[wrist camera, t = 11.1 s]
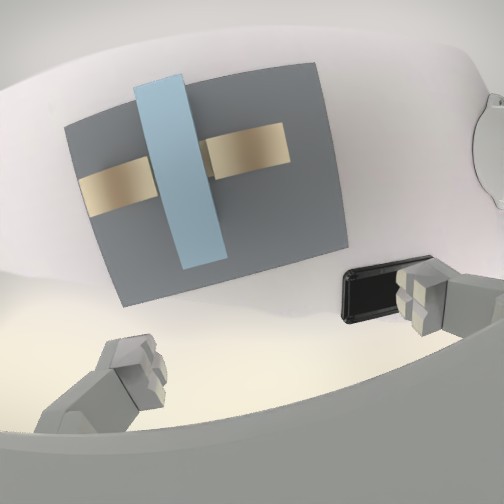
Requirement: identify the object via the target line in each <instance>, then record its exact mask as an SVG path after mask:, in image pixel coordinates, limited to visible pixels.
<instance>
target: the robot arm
mask: <svg viewBox="0 0 504 504" xmlns="http://www.w3.org/2000/svg"><path fill="white" fill-rule="evenodd" d="M473 155H474V164H475V169H476V173H477V176H478V179H479V181H480V183H481V185H482V187H483V188H484V189H485V191H486V192H487V193H489V194H490V195H491V196H492V197H493V198H494V201H495V203H496V206H497V207H498V209H501V210H504V97H502V96H500V95H497V94H490V96H489V98H488V102H487V107H486V110H485V111H484V113H483V114H482V116H481V117H480V119H479V121H478V123H477V126H476V130H475V135H474V143H473ZM396 283H397V284H398V285H399V286H400V288H399V290H398V292H397V294H396V303H397V307H398V310H399V312H400V314H401V315H402V317H403V318H404V319H406V320H409V321H412V327H413V328H414V329H415V330H416V331H417V332H418V333H419V334H420V336H425V335H428V334H431V333H433V332H436V331H438V330H440V329H442V330H444V331H446V332H449V333H451V334H454V335H456V336H459V337H461V338H464V339H462V340H460V341H458V342H456V343H454V344H452V345H449V346H447V347H445V348H443V349H441V350H439V351H437V352H434V353H432V354H430V355H428V356H426V357H423V358H421V359H419V360H416V361H414V362H412V363H409V364H407V365H405V366H402V367H400V368H397V369H395V370H392V371H389V372H387V373H385V374H382V375H379V376H376V377H374V378H371V379H368V380H365V381H363V382H360V383H357V384H354V385H351V386H348V387H345V388H342V389H339V390H336V391H333V392H329V393H326V394H323V395H320V396H317V397H313V398H310V399H306V400H302V401H299V402H295V403H291V404H288V405H284V406H280V407H276V408H272V409H268V410H263V411H259V412H255V413H250V414H245V415H241V416H236V417H231V418H226V419H221V420H215V421H209V422H203V423H197V424H190V425H184V426H176V427H169V428H160V429H151V430H141V431H130V432H125V431H126V430H127V429H128V427H129V426H130V425H131V423H132V422H133V420H134V419H135V418H136V416H137V415H138V414H139V411H143V410H150V409H156V408H162V407H164V401H165V393H166V392H165V390H164V388H163V386H164V385H165V384H166V383H167V369H166V365H165V362H164V360H163V357H162V355H160V354H159V353H157V352H156V351H155V349H156V342H155V340H154V338H153V336H152V335H151V334H144V335H139V336H133V337H127V338H122V339H121V338H120V339H115V340H111V341H107V342H106V344H105V346H104V349H103V351H102V354H101V356H100V358H99V361H98V364H97V366H96V369H95V371H91V372H89V373H88V374H87V375H86V376H85V377H83V378H82V379H81V380H80V381H78V382H77V383H76V384H75V385H74V386H72V387H71V388H70V389H69V390H68V391H67V392H65V393H64V394H63V395H62V396H60V397H59V398H58V399H57V400H56V401H54V402H53V403H52V404H51V405H50V406H49V407H47V408H46V409H45V410H44V411H43V412H42V414H41V417H40V419H39V421H38V424H37V426H36V428H35V431H34V433H21V432H8V431H0V504H504V280H501V279H495V278H489V277H483V276H477V275H471V274H463V275H462V274H460V273H459V272H457V271H456V270H454V269H453V268H451V267H450V266H448V265H446V264H445V263H443V262H442V261H440V260H439V259H437V258H431V259H429V260H426V261H423V262H421V263H418V264H415V265H412V266H409V267H407V268H404V269H401V270H398V272H397V275H396Z"/></svg>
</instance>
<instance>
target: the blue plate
mask: <svg viewBox="0 0 504 504" xmlns="http://www.w3.org/2000/svg"><path fill="white" fill-rule="evenodd" d="M133 89H134V93H135V98H136V102H137V106H138V111H139V115H140V119H141V123H142V127H143V132H144V136H145V140H146V144H147V147H148V151H149V155H150V159H151V163H152V167H153V170H154V174H155V178H156V181H157V185H158V188H159V192H160V196H161V199H162V203H163V206H164V209H165V213H166V216H167V220H168V223H169V226H170V230H171V233H172V236H173V239H174V243H175V246H176V249H177V252H178V255H179V258H180V262H181V265H182V268H183V270H184V269H188V268H191V267H195V266H199V265H203V264H207V263H210V262H214V261H218V260H222V259H225V258H228V257H227V253H226V248H225V244H224V240H223V236H222V231H221V227H220V222H219V219H218V215H217V211H216V207H215V203H214V199H213V195H212V192H211V188H210V184H209V181H208V177H207V173H206V169H205V165H204V161H203V157H202V153H201V149H200V145H199V141H198V137H197V132H196V127H195V123H194V119H193V115H192V111H191V107H190V102H189V98H188V94H187V91H186V87H185V84H184V81H183V77H182V74H178V75H174V76H171V77H167V78H164V79H160V80H157V81H153V82H150V83H147V84H144V85H140V86H137V87H134V88H133Z"/></svg>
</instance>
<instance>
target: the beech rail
mask: <svg viewBox="0 0 504 504" xmlns="http://www.w3.org/2000/svg"><path fill="white" fill-rule="evenodd" d="M199 145H200V149H201V153H202V157H203V161H204V165H205V169H206V173H207V177H211V176H214V177H215V179H216V180H217V179H221V178H225V177H229V176H233V175H237V174H241V173H245V172H249V171H253V170H258V169H262V168H266V167H271V166H275V165H280V164H284V163H289V162H290V157H289V152H288V147H287V143H286V138H285V133H284V129H283V124H282V123H276V124H271V125H266V126H261V127H256V128H252V129H247V130H243V131H238V132H234V133H229V134H225V135H221V136H217V137H213V138H209V139H205V140H203V141H199ZM78 181H79V184H80V188H81V191H82V194H83V198H84V201H85V204H86V207H87V210H88V213H89V216H90V217H93V216H96V215H99V214H102V213H105V212H108V211H111V210H114V209H117V208H120V207H123V206H127V205H130V204H133V203H136V202H139V201H143V200H146V199H149V198H153V197H156V196H158V195H159V194H160V192H159V188H158V185H157V181H156V178H155V174H154V170H153V167H152V163H151V159H150V155H149V156H145V157H142V158H139V159H136V160H133V161H130V162H127V163H124V164H121V165H118V166H115V167H112V168H109V169H106V170H103V171H101V172H98V173H95V174H92V175H90V176H87V177H84V178H82V179H79V180H78Z"/></svg>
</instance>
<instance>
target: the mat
mask: <svg viewBox="0 0 504 504" xmlns="http://www.w3.org/2000/svg"><path fill="white" fill-rule="evenodd" d="M185 87H186V91H187V94H188V98H189V102H190V107H191V111H192V115H193V119H194V123H195V127H196V132H197V137H198V141H203V140H205V139H209V138H213V137H217V136H221V135H225V134H229V133H234V132H238V131H243V130H247V129H252V128H256V127H261V126H266V125H271V124H276V123H282V124H283V129H284V133H285V138H286V143H287V147H288V152H289V157H290V162H289V163H284V164H280V165H275V166H271V167H266V168H262V169H258V170H253V171H249V172H245V173H241V174H237V175H233V176H229V177H225V178H221V179H217V180H216V179H215V177H214V176H211V177H208V181H209V184H210V188H211V192H212V195H213V199H214V203H215V207H216V211H217V215H218V219H219V222H220V227H221V231H222V236H223V240H224V244H225V248H226V253H227V257H228V258H225V259H222V260H218V261H214V262H210V263H207V264H203V265H199V266H195V267H191V268H188V269H184V270H183V268H182V265H181V262H180V258H179V255H178V252H177V249H176V246H175V243H174V239H173V236H172V233H171V230H170V226H169V223H168V220H167V216H166V213H165V209H164V206H163V203H162V199H161V196H160V194H159V195H158V196H156V197H153V198H149V199H146V200H143V201H139V202H136V203H133V204H130V205H127V206H123V207H120V208H117V209H114V210H111V211H108V212H105V213H102V214H99V215H96V216H93V217H90V216H89V213H88V210H87V207H86V204H85V201H84V204H85V207H86V210H87V213H88V216H89V219H90V222H91V225H92V228H93V231H94V234H95V237H96V240H97V242H98V245H99V248H100V251H101V253H102V256H103V259H104V261H105V264H106V267H107V269H108V272H109V274H110V277H111V279H112V282H113V284H114V287H115V289H116V291H117V294H118V296H119V299H120V301H121V303H122V306H123V307H128V306H132V305H136V304H140V303H143V302H147V301H151V300H155V299H159V298H163V297H167V296H171V295H175V294H179V293H183V292H187V291H190V290H194V289H198V288H202V287H206V286H210V285H213V284H217V283H221V282H225V281H228V280H232V279H236V278H240V277H243V276H247V275H251V274H254V273H258V272H262V271H266V270H269V269H273V268H277V267H280V266H284V265H287V264H291V263H295V262H298V261H302V260H305V259H309V258H313V257H316V256H320V255H323V254H327V253H330V252H334V251H337V250H341V249H344V248H348V238H347V230H346V222H345V215H344V208H343V201H342V194H341V188H340V182H339V175H338V170H337V164H336V158H335V152H334V147H333V142H332V137H331V131H330V126H329V121H328V117H327V112H326V107H325V103H324V98H323V94H322V89H321V85H320V81H319V77H318V73H317V68H316V64H315V62H314V63H305V64H296V65H288V66H281V67H274V68H267V69H261V70H255V71H249V72H244V73H238V74H233V75H228V76H223V77H219V78H214V79H210V80H205V81H201V82H197V83H193V84H189V85H185ZM64 129H65V134H66V138H67V142H68V146H69V150H70V154H71V158H72V162H73V166H74V169H75V173H76V177H77V180H79V179H82V178H84V177H87V176H90V175H92V174H95V173H98V172H101V171H103V170H106V169H109V168H112V167H115V166H118V165H121V164H124V163H127V162H130V161H133V160H136V159H139V158H142V157H145V156H149V151H148V147H147V144H146V140H145V136H144V132H143V127H142V123H141V119H140V115H139V111H138V106H137V102H136V100H134V101H131V102H128V103H125V104H122V105H120V106H117V107H114V108H111V109H108V110H106V111H103V112H100V113H98V114H95V115H93V116H90V117H88V118H85V119H83V120H80V121H78V122H75V123H73V124H71V125H68V126H66V127H64ZM78 184H79V181H78ZM79 187H80V184H79ZM80 190H81V188H80ZM81 194H82V191H81ZM82 197H83V194H82ZM83 200H84V198H83Z"/></svg>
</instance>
